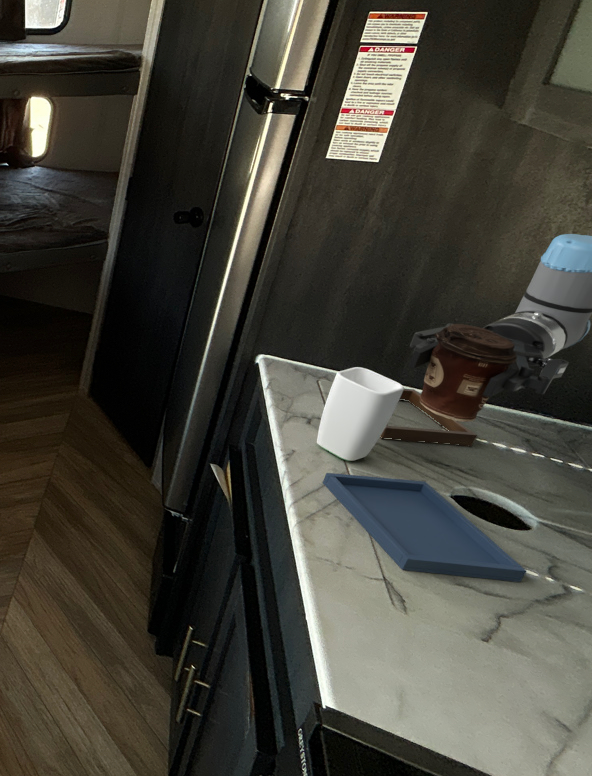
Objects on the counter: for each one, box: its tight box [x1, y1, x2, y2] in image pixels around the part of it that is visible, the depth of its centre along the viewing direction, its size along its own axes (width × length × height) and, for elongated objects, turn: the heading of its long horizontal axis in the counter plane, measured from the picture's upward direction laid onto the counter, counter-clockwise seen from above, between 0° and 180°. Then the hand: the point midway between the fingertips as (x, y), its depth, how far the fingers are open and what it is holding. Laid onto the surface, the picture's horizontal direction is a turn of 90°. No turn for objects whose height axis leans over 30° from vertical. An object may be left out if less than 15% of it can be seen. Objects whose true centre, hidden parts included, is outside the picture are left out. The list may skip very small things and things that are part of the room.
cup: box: [316, 366, 405, 462], centre depth 109 cm, size 7×7×15 cm
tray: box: [322, 472, 527, 583], centre depth 95 cm, size 18×15×2 cm
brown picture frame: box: [379, 388, 478, 447], centre depth 120 cm, size 15×15×2 cm
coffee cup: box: [420, 323, 517, 423], centre depth 94 cm, size 9×8×13 cm
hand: (450, 373), depth 91 cm, fingers closed on coffee cup, 8 cm apart
